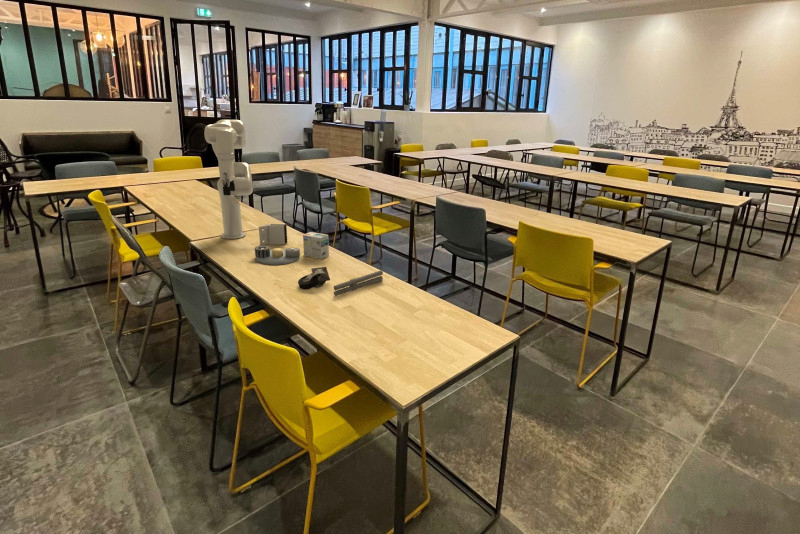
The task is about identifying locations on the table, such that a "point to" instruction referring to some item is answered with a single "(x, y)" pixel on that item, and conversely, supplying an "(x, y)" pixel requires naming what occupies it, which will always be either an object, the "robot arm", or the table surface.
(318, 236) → the light bulb box
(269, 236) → the hinge
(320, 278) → the caster wheel
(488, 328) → the table surface
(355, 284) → the metal rod assembly
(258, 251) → the gear
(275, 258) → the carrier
